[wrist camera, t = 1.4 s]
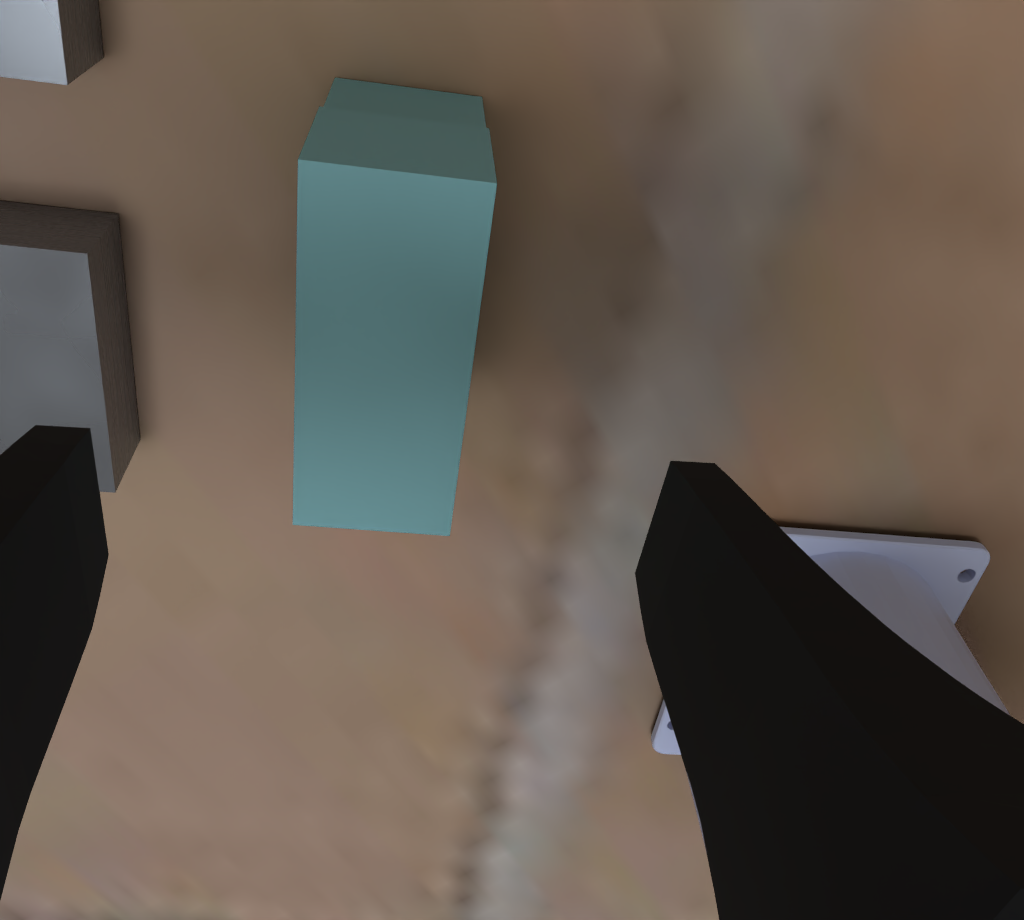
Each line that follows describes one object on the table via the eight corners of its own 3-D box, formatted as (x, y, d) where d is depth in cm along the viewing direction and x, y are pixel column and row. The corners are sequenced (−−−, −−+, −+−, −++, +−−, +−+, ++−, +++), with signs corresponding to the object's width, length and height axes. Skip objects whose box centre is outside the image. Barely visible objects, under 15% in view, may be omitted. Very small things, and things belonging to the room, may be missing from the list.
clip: (448, 381, 23) (449, 536, 18) (324, 370, 23) (292, 524, 18) (483, 86, 19) (497, 183, 14) (335, 67, 19) (298, 159, 14)
